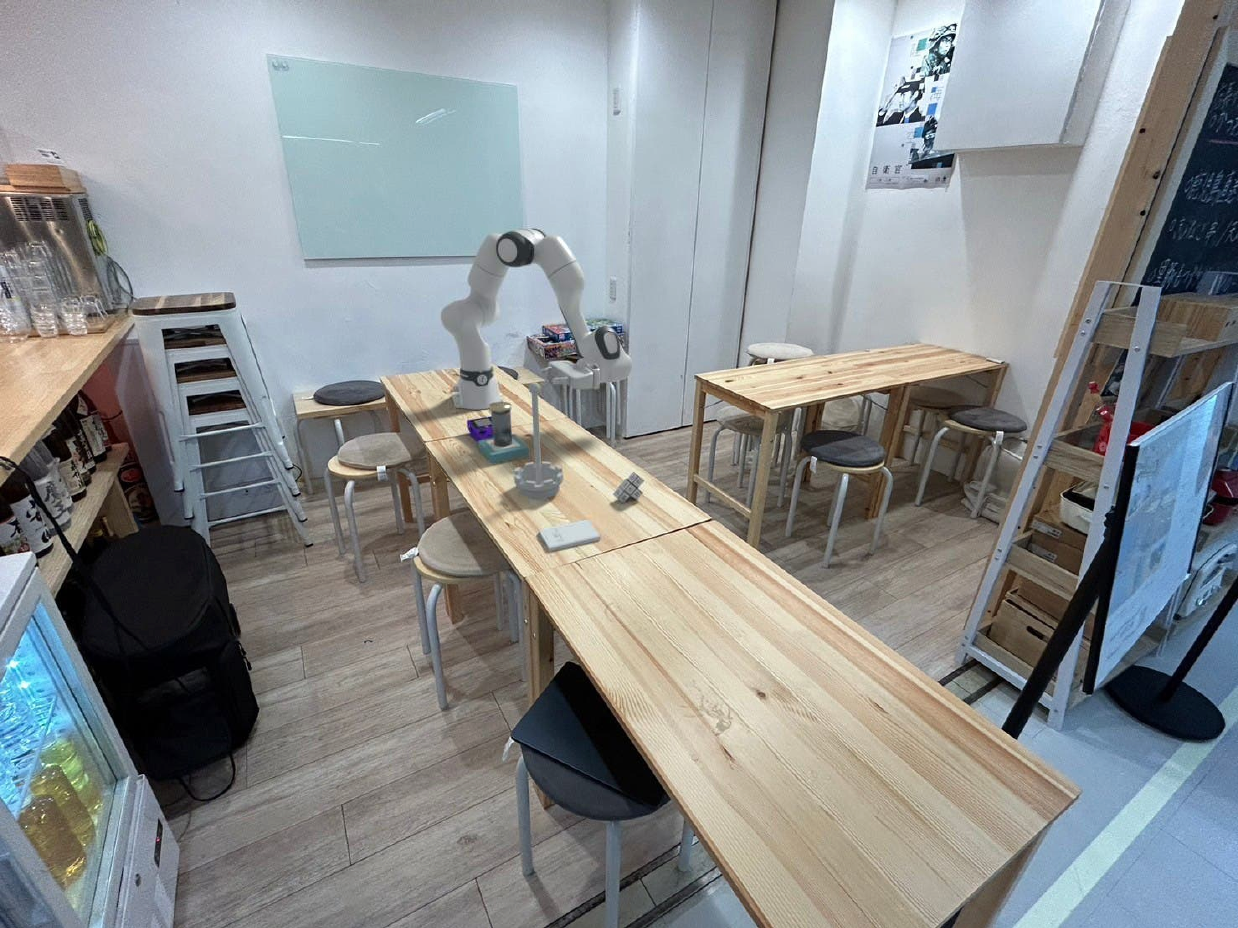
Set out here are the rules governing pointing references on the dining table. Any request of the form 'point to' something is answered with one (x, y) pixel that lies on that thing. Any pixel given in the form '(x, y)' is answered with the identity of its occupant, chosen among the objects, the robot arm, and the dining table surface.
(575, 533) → the external hard drive
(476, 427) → the handheld gaming console
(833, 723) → the dining table surface
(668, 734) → the dining table surface
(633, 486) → the building blocks
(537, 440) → the flag stand
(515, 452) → the stand
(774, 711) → the dining table surface
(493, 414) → the metal jar with lid
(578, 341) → the robot arm
